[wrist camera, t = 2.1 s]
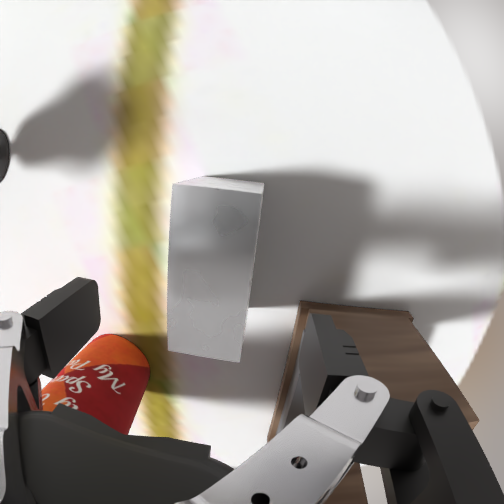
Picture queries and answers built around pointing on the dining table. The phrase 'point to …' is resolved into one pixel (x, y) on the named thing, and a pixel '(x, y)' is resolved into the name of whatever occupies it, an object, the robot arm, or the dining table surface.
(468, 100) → the dining table surface
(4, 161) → the sundae
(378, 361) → the wooden holder
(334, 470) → the robot arm
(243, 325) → the metal block
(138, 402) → the paper cup
